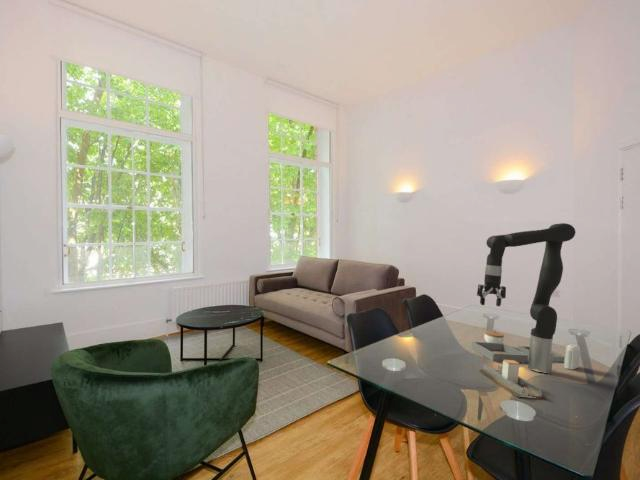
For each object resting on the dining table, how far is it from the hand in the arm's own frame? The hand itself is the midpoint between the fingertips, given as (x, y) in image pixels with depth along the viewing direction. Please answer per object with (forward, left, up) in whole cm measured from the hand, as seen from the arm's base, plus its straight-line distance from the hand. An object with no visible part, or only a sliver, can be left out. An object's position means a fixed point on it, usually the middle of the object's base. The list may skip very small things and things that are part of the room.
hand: (490, 305), depth 170 cm
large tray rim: (-17, -14, -30) cm, 37 cm away
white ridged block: (-49, 0, -30) cm, 58 cm away
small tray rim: (-45, -16, -30) cm, 56 cm away
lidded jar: (-26, -32, -30) cm, 51 cm away
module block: (+4, +24, -29) cm, 38 cm away
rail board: (+4, +24, -30) cm, 39 cm away
